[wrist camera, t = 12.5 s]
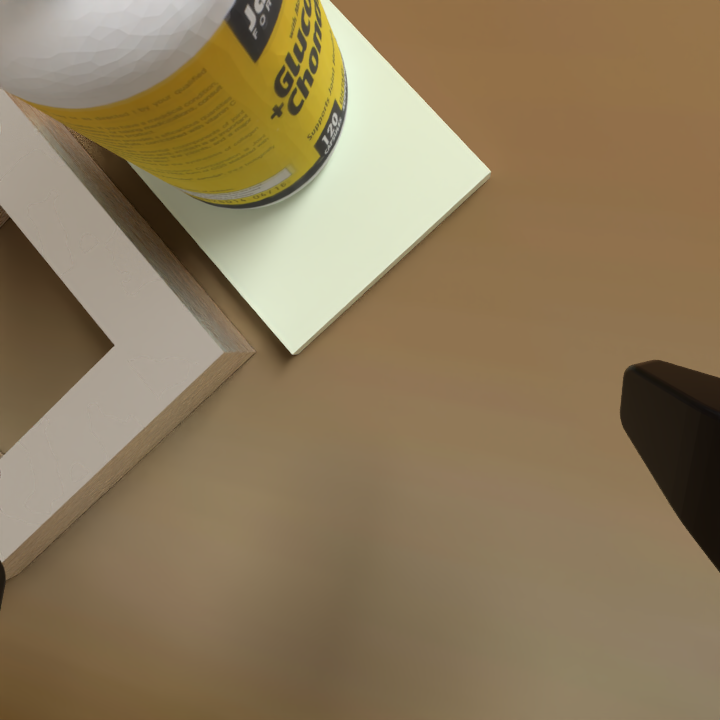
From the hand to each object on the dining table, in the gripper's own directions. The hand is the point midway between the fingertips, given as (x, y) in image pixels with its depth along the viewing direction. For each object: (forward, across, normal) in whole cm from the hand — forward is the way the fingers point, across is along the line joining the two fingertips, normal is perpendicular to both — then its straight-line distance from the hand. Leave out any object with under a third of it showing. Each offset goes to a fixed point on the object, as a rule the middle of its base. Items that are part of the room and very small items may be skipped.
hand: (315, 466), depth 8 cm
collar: (+13, +10, +2) cm, 16 cm away
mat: (+13, 0, -2) cm, 14 cm away
